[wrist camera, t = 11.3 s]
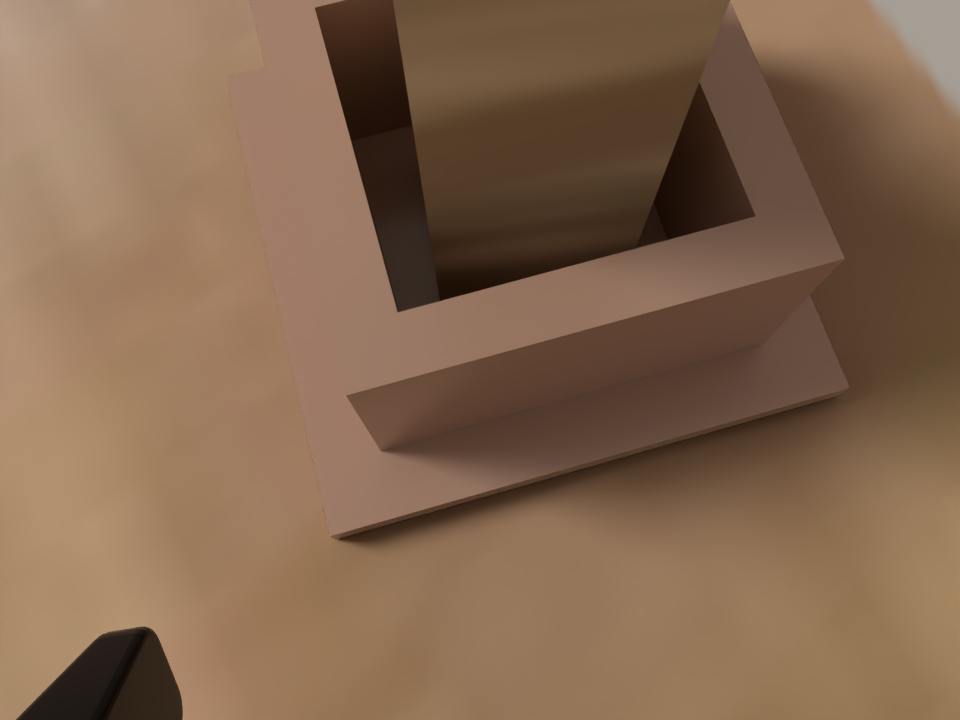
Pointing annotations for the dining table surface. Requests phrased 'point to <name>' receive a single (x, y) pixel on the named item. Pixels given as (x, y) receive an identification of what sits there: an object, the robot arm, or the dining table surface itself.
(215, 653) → the dining table surface
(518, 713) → the dining table surface
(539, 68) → the wooden block
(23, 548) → the dining table surface
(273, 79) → the holder cup
